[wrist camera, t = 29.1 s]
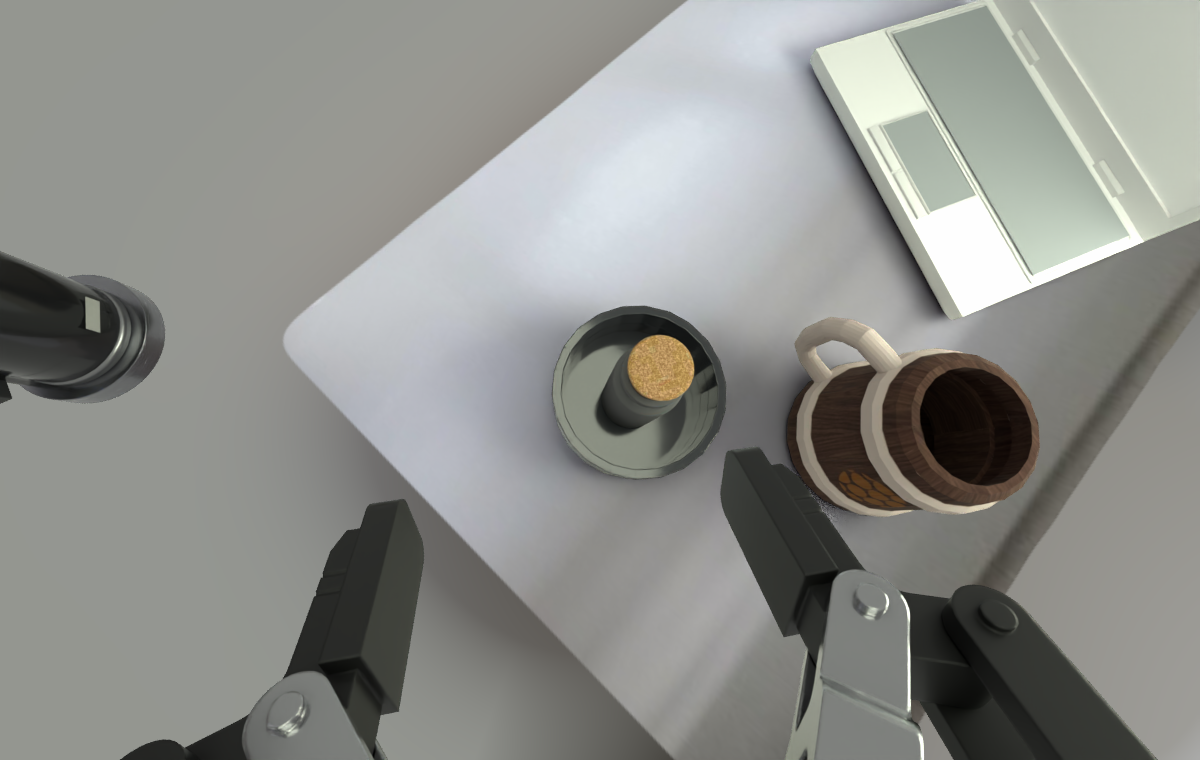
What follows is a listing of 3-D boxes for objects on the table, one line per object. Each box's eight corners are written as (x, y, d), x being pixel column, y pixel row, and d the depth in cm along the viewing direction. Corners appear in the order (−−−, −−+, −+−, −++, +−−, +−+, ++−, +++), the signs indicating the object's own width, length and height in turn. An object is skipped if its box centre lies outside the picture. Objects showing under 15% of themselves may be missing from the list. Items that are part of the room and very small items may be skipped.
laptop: (804, 67, 57) (1033, -314, 29) (979, 14, 61) (1328, -367, 33) (942, 324, 52) (1378, 156, 24) (1124, 249, 56) (1679, 29, 28)
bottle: (655, 369, 48) (696, 324, 33) (662, 426, 47) (707, 405, 32) (598, 373, 47) (615, 329, 33) (604, 431, 46) (623, 412, 32)
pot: (600, 507, 45) (606, 513, 40) (526, 366, 47) (521, 351, 42) (734, 431, 48) (758, 426, 42) (658, 300, 50) (671, 278, 44)
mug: (949, 451, 49) (1113, 443, 35) (850, 546, 47) (982, 580, 32) (823, 306, 51) (927, 240, 37) (721, 388, 49) (790, 353, 34)
